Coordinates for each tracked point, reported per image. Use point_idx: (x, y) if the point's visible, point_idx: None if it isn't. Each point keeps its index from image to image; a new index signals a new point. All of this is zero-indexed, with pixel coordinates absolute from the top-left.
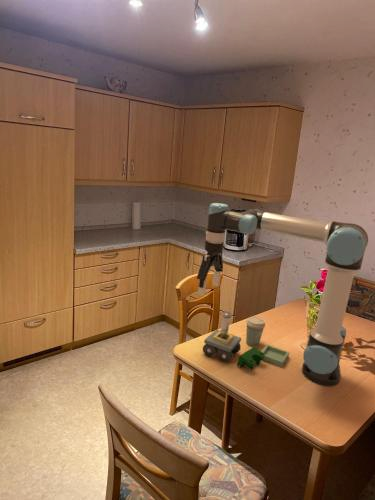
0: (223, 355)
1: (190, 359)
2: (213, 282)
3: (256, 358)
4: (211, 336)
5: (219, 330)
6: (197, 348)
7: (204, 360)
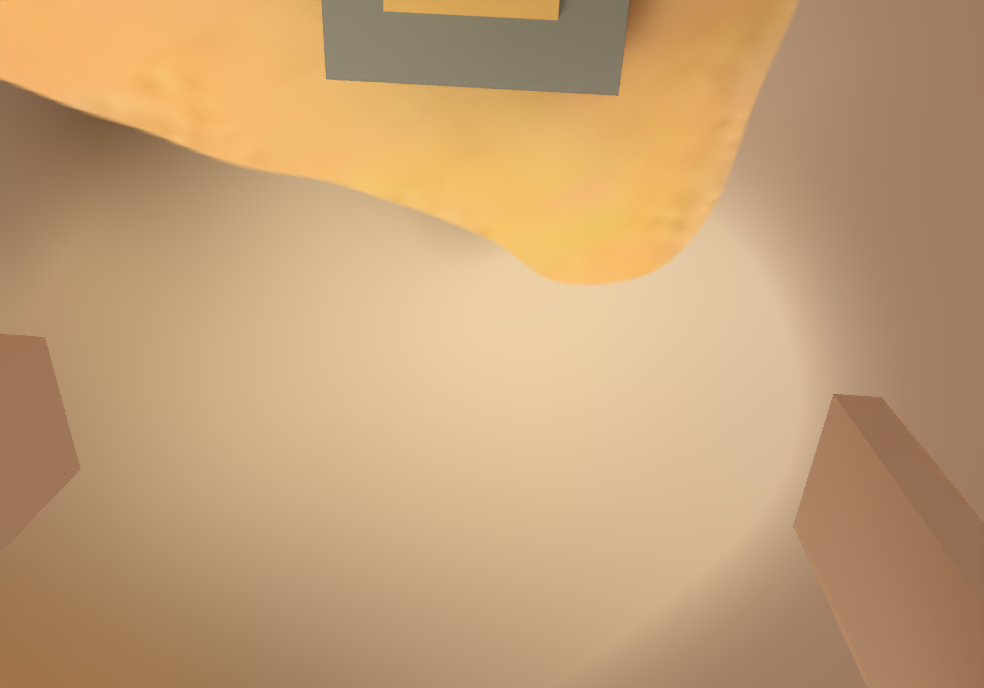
0: None
1: (717, 135)
2: (29, 492)
3: None
4: (510, 59)
5: (328, 38)
6: (526, 159)
7: (672, 24)
